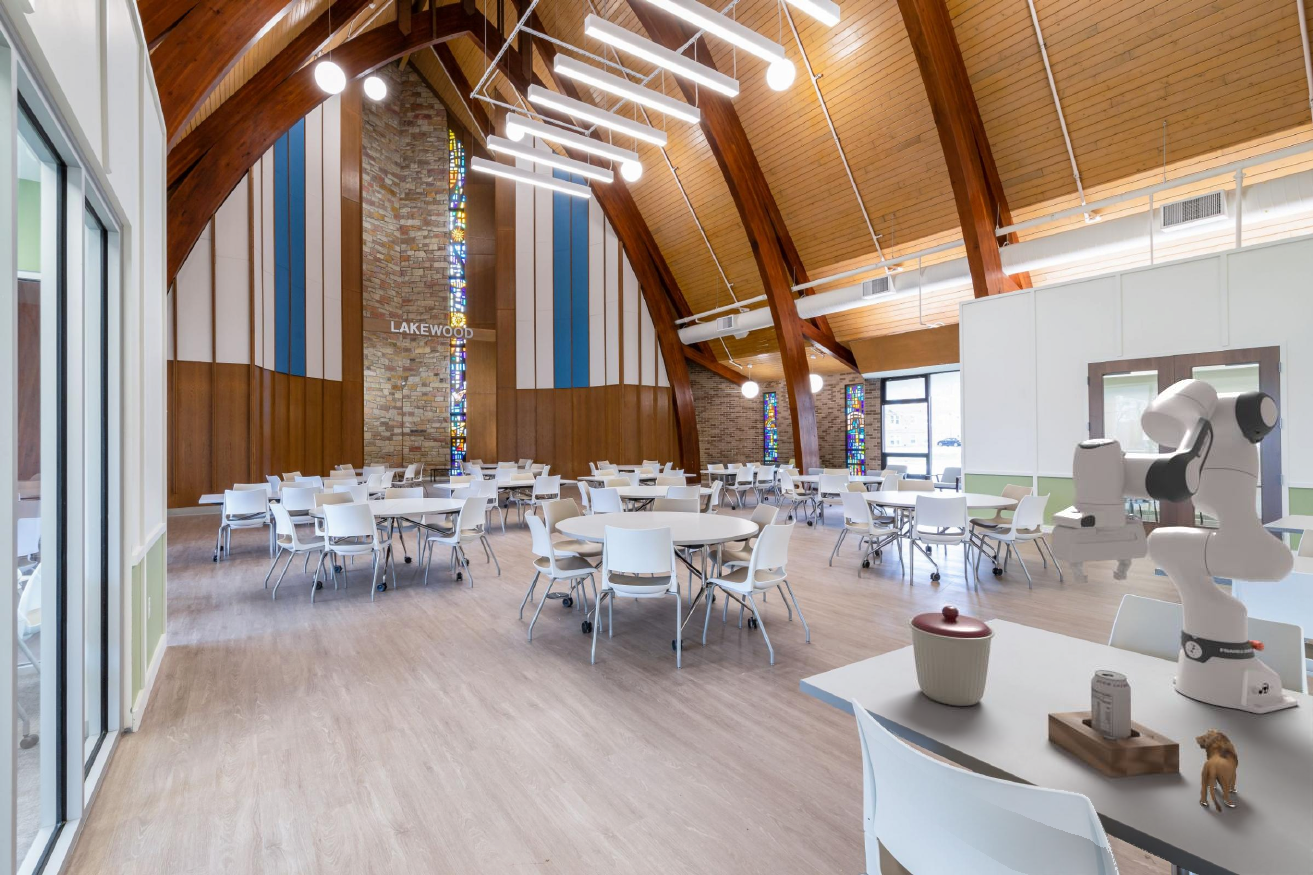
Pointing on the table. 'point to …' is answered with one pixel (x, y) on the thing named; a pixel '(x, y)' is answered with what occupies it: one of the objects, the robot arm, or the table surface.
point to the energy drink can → (1111, 704)
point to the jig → (1114, 746)
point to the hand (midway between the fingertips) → (1100, 581)
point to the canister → (951, 656)
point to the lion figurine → (1218, 766)
